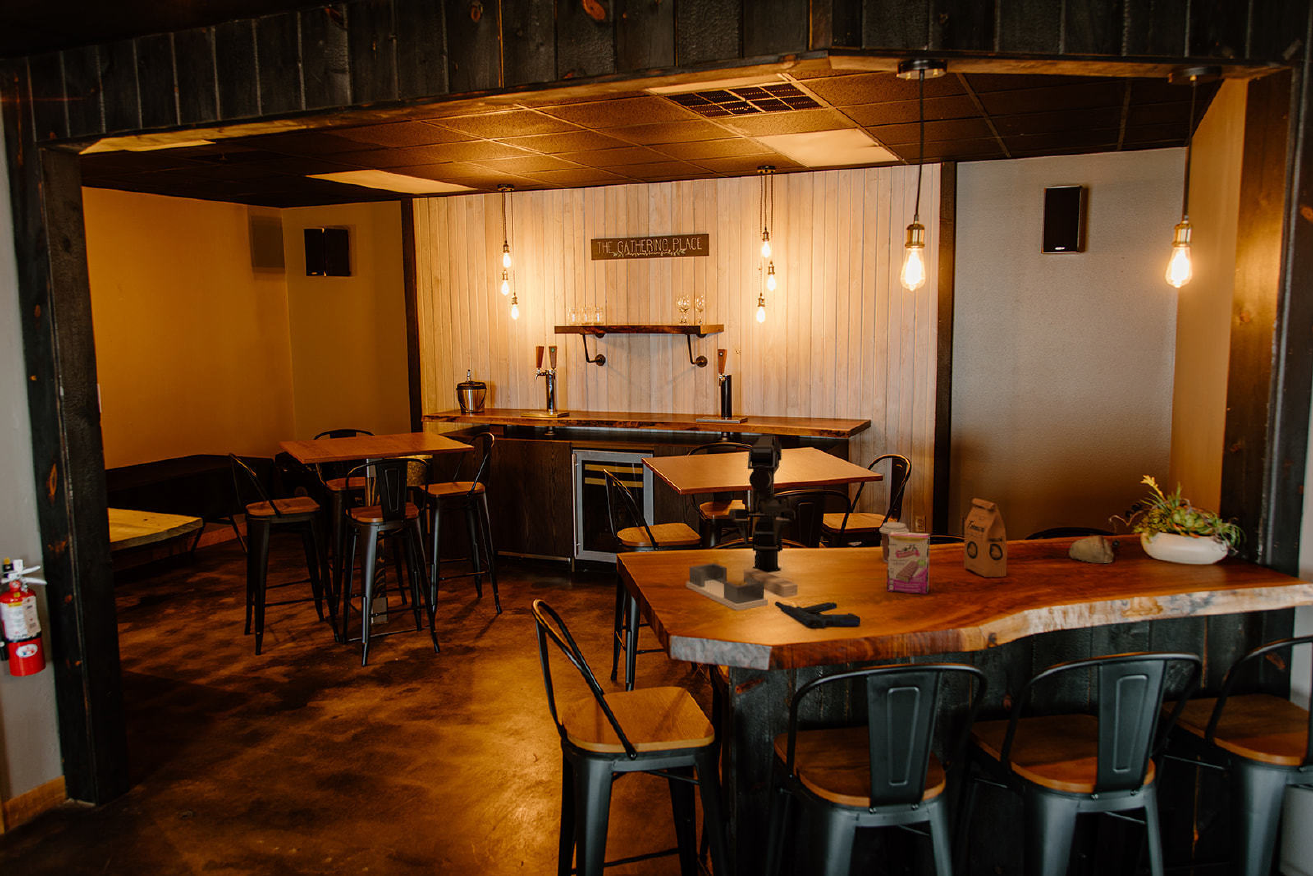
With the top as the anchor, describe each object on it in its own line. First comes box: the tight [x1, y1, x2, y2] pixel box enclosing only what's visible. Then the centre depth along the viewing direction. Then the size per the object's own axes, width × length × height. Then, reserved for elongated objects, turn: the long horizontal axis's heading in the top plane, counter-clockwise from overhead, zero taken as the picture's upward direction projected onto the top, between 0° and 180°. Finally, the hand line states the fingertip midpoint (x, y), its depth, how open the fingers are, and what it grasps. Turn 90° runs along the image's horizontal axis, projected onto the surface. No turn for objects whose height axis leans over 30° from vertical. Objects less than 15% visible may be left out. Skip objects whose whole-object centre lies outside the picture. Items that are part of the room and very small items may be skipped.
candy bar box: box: [886, 531, 931, 595], centre depth 245 cm, size 11×5×16 cm, turn 71°
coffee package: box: [963, 497, 1008, 578], centre depth 262 cm, size 10×12×22 cm
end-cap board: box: [685, 580, 769, 612], centre depth 245 cm, size 26×10×2 cm, turn 28°
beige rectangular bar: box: [743, 568, 798, 598], centre depth 252 cm, size 20×4×4 cm, turn 28°
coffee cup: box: [878, 521, 910, 564], centre depth 278 cm, size 9×9×12 cm
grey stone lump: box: [1069, 535, 1115, 564], centre depth 277 cm, size 14×12×8 cm
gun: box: [774, 601, 861, 629], centre depth 226 cm, size 24×3×15 cm
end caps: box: [689, 562, 765, 604], centre depth 244 cm, size 25×9×4 cm, turn 28°
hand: (761, 544), depth 250 cm, fingers open, 9 cm apart
